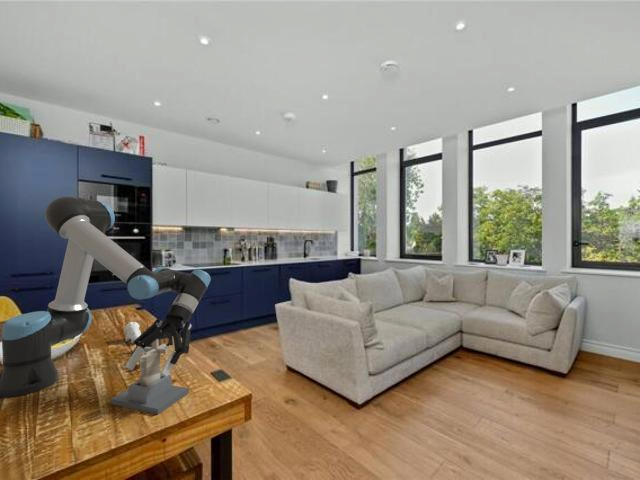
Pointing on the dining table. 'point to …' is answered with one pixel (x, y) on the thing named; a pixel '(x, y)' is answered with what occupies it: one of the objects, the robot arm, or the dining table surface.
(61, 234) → the robot arm
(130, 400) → the rectangular socket base
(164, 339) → the ammunition clip
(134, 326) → the penguin figurine
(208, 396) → the dining table surface
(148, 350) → the pipe connector
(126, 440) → the dining table surface
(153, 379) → the slat
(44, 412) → the dining table surface
